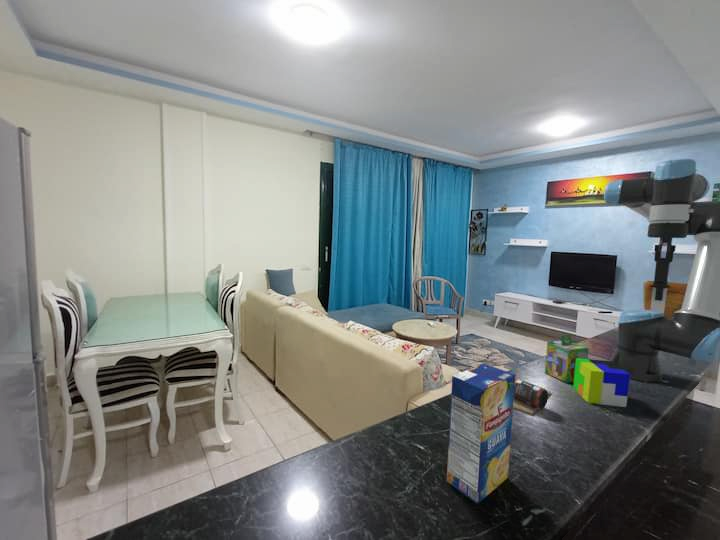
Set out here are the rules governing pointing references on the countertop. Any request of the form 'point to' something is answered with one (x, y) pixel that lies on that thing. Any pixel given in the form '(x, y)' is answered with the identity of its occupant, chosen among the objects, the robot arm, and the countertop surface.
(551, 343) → the chalk box
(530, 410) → the wooden board
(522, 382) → the supplement bottle
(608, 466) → the countertop surface
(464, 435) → the beverage box
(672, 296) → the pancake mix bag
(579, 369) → the puzzle toy
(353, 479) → the countertop surface
